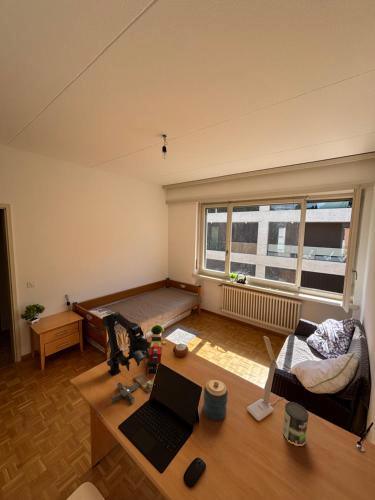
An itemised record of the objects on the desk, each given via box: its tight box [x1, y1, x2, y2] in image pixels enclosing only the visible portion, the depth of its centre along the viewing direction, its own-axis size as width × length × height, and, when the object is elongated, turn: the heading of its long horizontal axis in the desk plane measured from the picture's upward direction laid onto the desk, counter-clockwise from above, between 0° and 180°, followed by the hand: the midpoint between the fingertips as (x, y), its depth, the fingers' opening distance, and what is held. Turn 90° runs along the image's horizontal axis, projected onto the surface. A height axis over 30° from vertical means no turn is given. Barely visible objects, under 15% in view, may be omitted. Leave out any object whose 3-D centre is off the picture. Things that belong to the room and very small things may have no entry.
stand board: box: [133, 372, 154, 394], centre depth 132 cm, size 16×6×4 cm, turn 47°
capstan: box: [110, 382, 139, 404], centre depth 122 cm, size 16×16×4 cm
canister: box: [202, 379, 229, 422], centre depth 114 cm, size 13×13×18 cm
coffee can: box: [282, 401, 310, 444], centre depth 102 cm, size 10×10×14 cm
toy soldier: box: [145, 336, 163, 376], centre depth 152 cm, size 14×12×30 cm
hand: (133, 368), depth 131 cm, fingers open, 7 cm apart
